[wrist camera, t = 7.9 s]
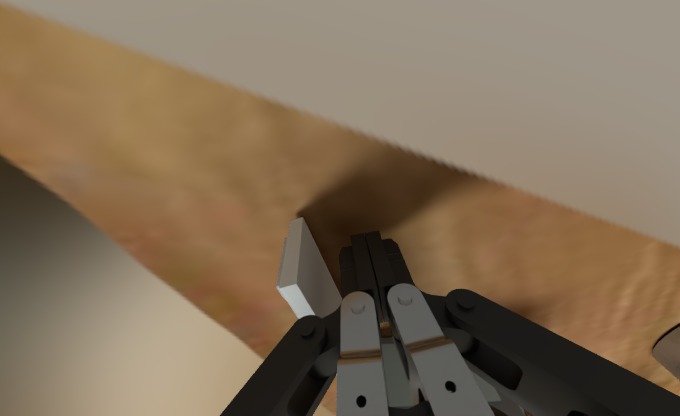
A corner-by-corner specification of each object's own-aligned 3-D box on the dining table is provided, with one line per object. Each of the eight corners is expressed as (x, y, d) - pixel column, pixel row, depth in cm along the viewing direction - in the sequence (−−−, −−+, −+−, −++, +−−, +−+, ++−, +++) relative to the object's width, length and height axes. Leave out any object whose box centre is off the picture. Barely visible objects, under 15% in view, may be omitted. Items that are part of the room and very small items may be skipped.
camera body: (495, 333, 21) (564, 441, 15) (466, 377, 24) (512, 476, 19) (359, 336, 19) (377, 455, 14) (350, 382, 23) (361, 490, 17)
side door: (283, 221, 13) (267, 294, 9) (304, 214, 13) (298, 285, 9) (346, 339, 19) (353, 414, 15) (361, 335, 19) (373, 410, 15)
